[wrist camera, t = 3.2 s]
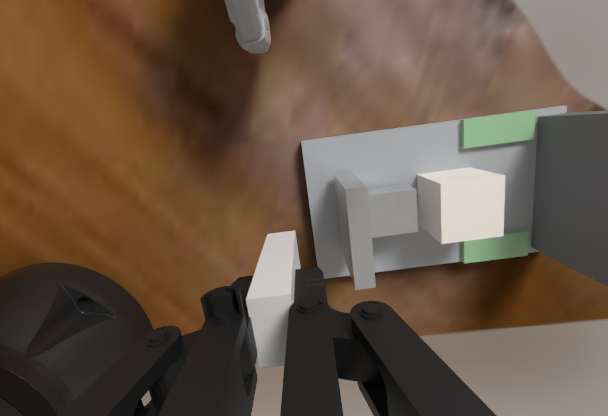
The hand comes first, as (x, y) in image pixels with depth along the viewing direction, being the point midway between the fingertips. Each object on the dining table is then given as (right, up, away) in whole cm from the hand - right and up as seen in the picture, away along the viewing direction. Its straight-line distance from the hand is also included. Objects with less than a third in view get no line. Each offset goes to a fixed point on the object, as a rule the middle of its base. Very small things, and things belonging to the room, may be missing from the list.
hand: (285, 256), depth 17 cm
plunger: (+6, +3, +6) cm, 9 cm away
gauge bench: (+11, +4, +8) cm, 14 cm away
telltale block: (+12, +3, +7) cm, 14 cm away
